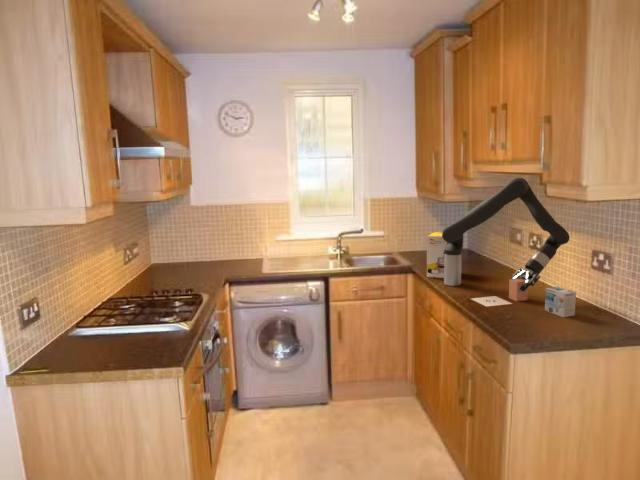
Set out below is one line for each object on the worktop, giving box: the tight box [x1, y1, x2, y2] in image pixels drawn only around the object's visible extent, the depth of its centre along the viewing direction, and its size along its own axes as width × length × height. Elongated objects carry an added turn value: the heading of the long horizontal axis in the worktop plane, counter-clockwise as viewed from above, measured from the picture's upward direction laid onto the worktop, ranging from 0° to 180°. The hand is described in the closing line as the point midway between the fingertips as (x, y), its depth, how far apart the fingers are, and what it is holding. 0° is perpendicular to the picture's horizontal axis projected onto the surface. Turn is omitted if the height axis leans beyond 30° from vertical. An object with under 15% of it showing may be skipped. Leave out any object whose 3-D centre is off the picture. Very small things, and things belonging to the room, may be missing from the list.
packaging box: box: [426, 231, 447, 279], centre depth 282 cm, size 16×16×25 cm
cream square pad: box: [470, 295, 513, 307], centre depth 226 cm, size 14×14×1 cm
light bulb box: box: [544, 285, 577, 318], centre depth 206 cm, size 11×7×11 cm, turn 21°
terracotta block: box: [508, 277, 529, 302], centre depth 227 cm, size 6×6×10 cm
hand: (515, 288), depth 226 cm, fingers open, 8 cm apart
